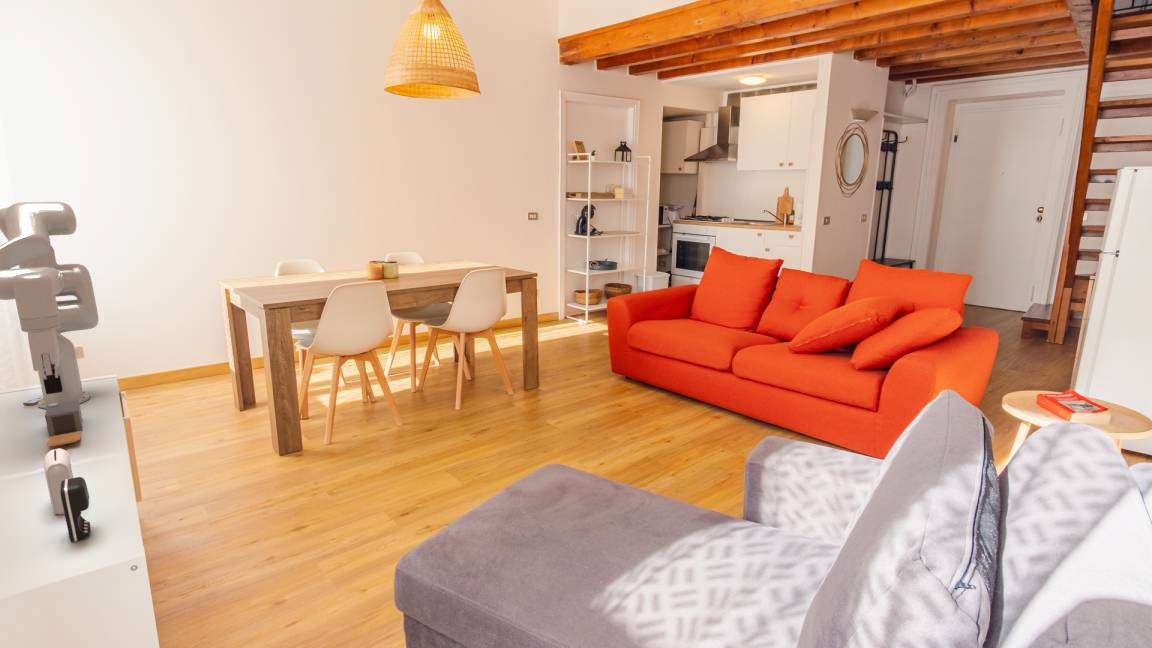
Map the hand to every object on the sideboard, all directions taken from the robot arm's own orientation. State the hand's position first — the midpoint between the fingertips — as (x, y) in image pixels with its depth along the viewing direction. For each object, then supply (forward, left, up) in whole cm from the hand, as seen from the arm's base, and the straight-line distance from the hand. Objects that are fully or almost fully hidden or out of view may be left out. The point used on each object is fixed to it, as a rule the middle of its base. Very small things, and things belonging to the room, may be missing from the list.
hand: (54, 392), depth 158 cm
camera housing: (-14, 0, -16) cm, 21 cm away
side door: (-8, 0, -15) cm, 17 cm away
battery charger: (+50, +4, -16) cm, 53 cm away
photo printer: (+34, +1, -16) cm, 38 cm away
